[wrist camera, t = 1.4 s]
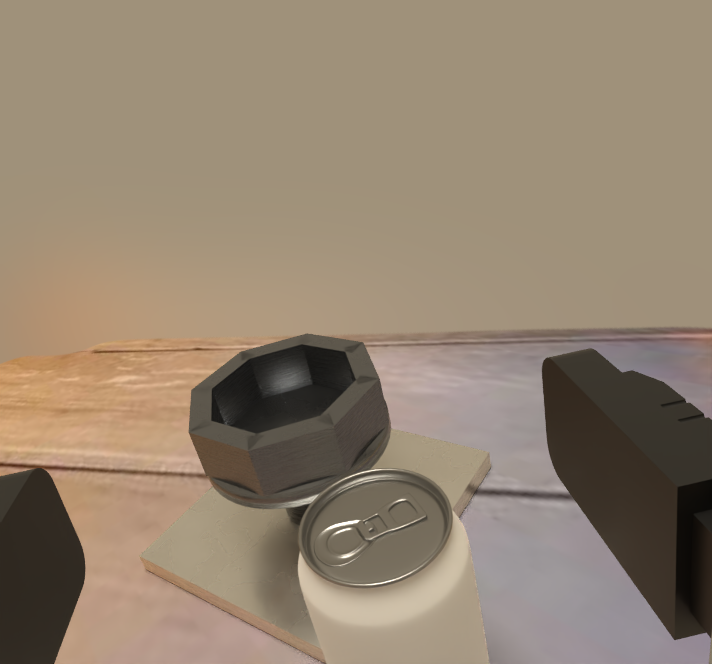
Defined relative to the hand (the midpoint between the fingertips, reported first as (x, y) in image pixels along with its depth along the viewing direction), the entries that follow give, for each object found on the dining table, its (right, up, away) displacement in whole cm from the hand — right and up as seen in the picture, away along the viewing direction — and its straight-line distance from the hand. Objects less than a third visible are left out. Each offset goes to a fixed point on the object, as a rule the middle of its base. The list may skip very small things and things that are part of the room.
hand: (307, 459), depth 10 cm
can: (+4, -15, +18) cm, 24 cm away
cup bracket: (-1, -10, +30) cm, 32 cm away
